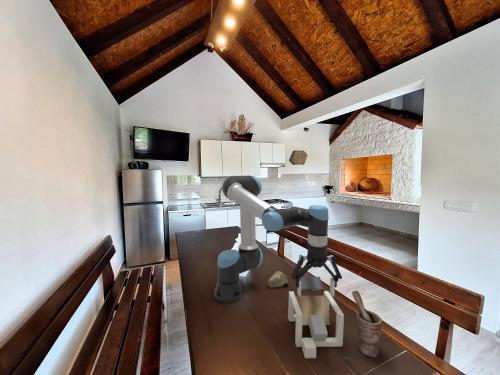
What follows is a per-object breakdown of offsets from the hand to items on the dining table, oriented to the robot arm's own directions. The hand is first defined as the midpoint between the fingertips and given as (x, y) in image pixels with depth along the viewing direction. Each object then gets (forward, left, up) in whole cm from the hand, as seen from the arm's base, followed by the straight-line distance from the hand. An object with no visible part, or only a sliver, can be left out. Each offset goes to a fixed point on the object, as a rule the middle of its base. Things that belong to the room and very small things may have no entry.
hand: (315, 294), depth 88 cm
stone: (0, -1, -10) cm, 10 cm away
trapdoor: (0, +6, -7) cm, 9 cm away
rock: (-10, +39, -18) cm, 44 cm away
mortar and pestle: (+17, -6, -17) cm, 25 cm away
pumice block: (-5, -10, -17) cm, 20 cm away
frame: (0, +2, -17) cm, 17 cm away
